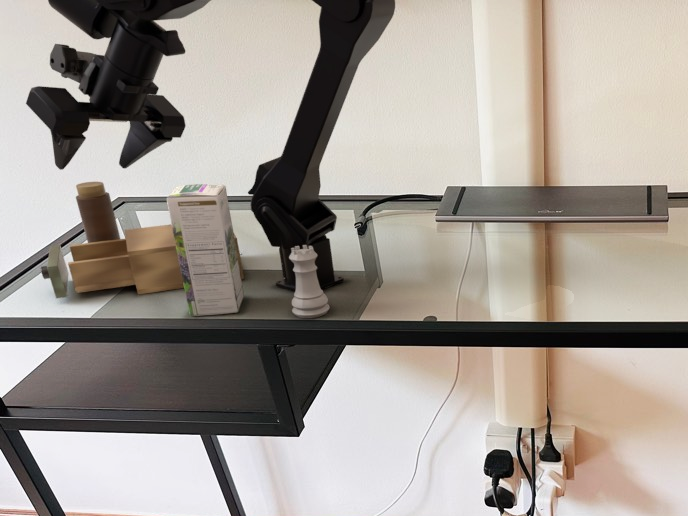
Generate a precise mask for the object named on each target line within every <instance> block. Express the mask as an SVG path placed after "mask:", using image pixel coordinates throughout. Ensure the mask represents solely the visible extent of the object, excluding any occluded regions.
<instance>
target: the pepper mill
mask: <svg viewBox="0 0 688 516" xmlns="http://www.w3.org/2000/svg"><path fill="white" fill-rule="evenodd" d="M75 188H76V191H77V195H76V196H75V200H76V203H77V207H78V211H79V215H80V218H81V222H82V226H83V230H84V234H85V237H86V240H87V243H93V242H101V241H109V240H117V239H121V235H120V231H119V226H118V224H117V220H116V216H115V211H114V207H113V204H112V199H111V194H110V193H109V192H106V188H105V183H104V182H102V181H86V182H81V183H78V184H76V185H75Z"/></svg>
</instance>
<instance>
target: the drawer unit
mask: <svg viewBox="0 0 688 516" xmlns="http://www.w3.org/2000/svg"><path fill="white" fill-rule="evenodd" d="M124 235H125V239H126V244H127V252H128V256H129V260H130V264H131V268H132V272H133V276H134V280H135V284H136V285H135V289H136V292H137V295H144V294H150V293H158V292H159V293H160V292H165V291H172V290H173V291H174V290H179V289H184V284H183V279H182V274H181V269H180V264H179V259H178V254H177V249H176V244H175V239H174V234H173V229H172V224H171V223H170V224H163V225H154V226H146V227H137V228H130V229H129V228H128V229H124ZM234 238H235V244H236V250H237V256H238V262H239V268H240V274H241V280H242V281H243V280H245V275H244V270H243V264H242V259H241V254H240V249H239V243H238V237H237V236H236V234H235V233H234Z"/></svg>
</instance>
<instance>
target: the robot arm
mask: <svg viewBox="0 0 688 516" xmlns="http://www.w3.org/2000/svg"><path fill="white" fill-rule="evenodd" d="M47 1H48V5H49V6H50V7H51V8H52V9H53V10H55V11H56V12H57V13H59V14H60V15H61V16H62V17H64V18H65V19H67V20H68V21H69V22H70V23H72V24H73V25H74V26H76V27H77V28H78V29H80V30H81V31H83V33H84V34H86V35H87V36H88V37H90V38H92V40H101V39H104V38H105V39H109V41H108V44H107V46H106V50H105V53H104V55H103V54H97V53H93V52H88V51H79V50H77V49H76V48H74V47H70V45H68V44H61V43H54V45H53V48H52V50H51V52H50V53H49V66H50V68H51V70H53V71H55V72H57V73H59V74H60V76H61V77H62V78H64V79H70V80H71V81H74V82H76V83H78V84H79V85H78V87H77V88H78V89H79V91H80V92H81V93H82V94H83V95H86V96H88V97H89V99H88V101H87V102H86V101H78V100H77V99H76V98H75V97H74V96H73V95H72V94H71V93H70V91H69V90H68V89H67V88H65V87H55V86H54V87H53V86H42V85H41V86H40V85H37V86H34V87H33V86H32V87H31V88H30V90H29V93H28V95H27V98H26V102H25V105H26V106H27V107H28V108H29V109H31V111H32V112H33V114H35V115H36V116H37V118H39V120H40V121H41V122H42V123H43V124H44V125H45V126H46V127H47V128H48V129H49V131H50V134H51V142H52V151H53V158H54V159H53V160H54V165H55V166H56V167H57V168H58V169H59V170H62V171H63V170H64V169H65V168H66V167H67V166H69V164H70V162H71V161H72V159H73V158H74V156H75V155H76V154H77V152H78V151H79V150H80V148H81V146H83V143H85V141H86V139H87V137H86V136H85V135H84V133H86V132H87V131H88V130H89V127H90V124H91V122H111V123H127V122H129V130H128V132H127V135H126V138H125V140H124V144H123V147H122V149H121V153H120V156H119V161H118V165H119V166H120V167H121V168H122V169H128V168H129V167H130V166H132V165H134V164H135V163H136V162H138V161H139V160H141V159H142V158H143V157H145V156H146V155H148V154H149V153H151V152H153V151H155V150H156V149H158V148H159V147H161V146H163V145H165V143H170V142H172V141H173V139H175V138H179V139H181V138H182V136H183V133H184V131H185V129H186V127H187V126H186V120H185V117H184V115H183V114H182V113H181V112H180V111H179V110H178V109H177V108H176V107H175V106H174V105H173V104H172V102H170V101H169V100H168V99H167V98H166V97H165V96H164V95H163V94H158V92H159V89H160V88H159V86H158V85H157V84H156V83H154V80H155V78H156V74H157V72H158V70H159V67H160V65H161V62H162V60H163V57H164V56H165V57H173V56H174V57H175V56H180V55H185V54H186V49H185V46H184V44H183V42H182V41H181V39H180V37H179V32H178V30H176V29H170V30H167V29H165V28H164V27H162V26H161V25H160V24H159V23H157V22H156V21H167V20H179V19H184V18H186V17H188V16H190V15H191V14H192V15H193V14H194V13H195V12H197V11H199V10H201V9H202V8H204V7H205V6H206V5H207V4H208V3H210V2H211V1H212V0H47ZM311 1H312V2H313V3H315V4H316V5H318V6H319V7H320V10H319V17H318V31H319V42H320V44H319V50H318V53H317V56H316V59H315V61H314V64H313V68H312V70H311V73H310V75H309V78H308V81H307V83H306V87H305V90H304V92H303V94H302V97H301V101H300V103H299V106H298V109H297V112H296V114H295V117H294V120H293V122H292V125H291V128H290V130H289V134H288V136H287V139H286V142H285V145H284V148H283V151H282V153H281V155H280V156H279V157H276V158H273V159H271V160H268V161H266V162H264V163H260V164H259V165H258V167H257V169H256V173H255V177H254V178H255V179H254V183H253V185H252V187H251V188H250V189H249V190H248V191H247V195H249V196H250V195H251V196H252V197H251V199H250V211H251V212H252V213H253V216H254V218H255V219H256V221H257V222H258V223H259V226H261V228H262V230H263V233H264V234H265V236H266V239H267V240H268V242H269V244H270V246H271V247H274V248H278V252H279V258H280V259H279V260H280V265H281V270H282V271H281V272H282V276H283V278H282V279H279V280H276V281H275V286H277V287H278V288H282V289H285V290H290V291H293V292H295V291H296V275H295V272H294V271H293V268H294V263H293V262H292V261H291V260H290V259H289V256H290V255H291V253H292V252H291V248H295V246H299V247H300V249H303V245H307V249H309V246H313V250H314V252H315V253H316V254H317V255H318V256H317V257H316V259H315V265H316V266H317V269H316V274H317V279H318V282H319V286H320V288H321V290H324V289H327V288H330V287H332V286H335V285H338V284H340V283H343V282H345V277H344V276H340V275H336V274H335V270H334V263H333V255H332V247H331V240H330V238H328V237H327V234H329V233H330V232H334V231H335V228H336V224H337V219H338V217H337V215H336V214H335V212H333V210H331V208H329V207H328V206H327V204H325V203H324V202H323V201H322V200H321V199H320V198H319V195H320V191H321V175H320V173H321V172H320V166H321V162H322V160H323V157H324V155H325V152H326V150H327V148H328V146H329V142H330V139H331V137H332V134H333V132H334V129H335V127H336V125H337V122H338V119H339V117H340V114H341V111H342V109H343V106H344V104H345V102H346V99H347V96H348V93H349V91H350V88H351V86H352V84H353V81H354V78H355V75H356V73H357V71H358V68H359V65H360V63H361V62H362V60H363V59H364V58H365V57H366V55H368V54H369V52H370V51H371V50H372V48H373V47H374V46H375V45H376V43H377V42H378V41H379V40H380V38H381V37H382V35H383V34H384V32H385V30H387V29H386V28H387V27H388V25H389V24H390V22H391V21H392V19H393V17H394V15H395V10H396V0H311Z"/></svg>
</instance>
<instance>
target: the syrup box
mask: <svg viewBox="0 0 688 516" xmlns="http://www.w3.org/2000/svg"><path fill="white" fill-rule="evenodd" d="M166 203H167V208H168V213H169V214H168V215H169V218H170V225H171V224H172V229H173V234H174V239H175V244H176V249H177V254H178V259H179V264H180V269H181V274H182V279H183V284H184V288H183V289H184V294H185V298H186V304H187V308H188V312H189V316H191V317H199V316H200V317H201V316H212V315H223V314H233V313H235V314H237V313H239V311H240V309H241V306H242V303H243V300H244V298H245V293H244V292H245V291H244V286H243V279H242V280H241V274H240V268H239V262H238V256H237V250H236V244H235V238H234V234H235V232H234V227H233V221H232V216H231V215H232V214H231V211H230V205H229V199H228V192H227V186H226V185H224V184H217V183H192V184H191V183H190V184H184V185H178V186H176V187H175V188H174V189H173V190H172V192H171V193H170V194H169V195H168V196H167V197H166Z"/></svg>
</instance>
